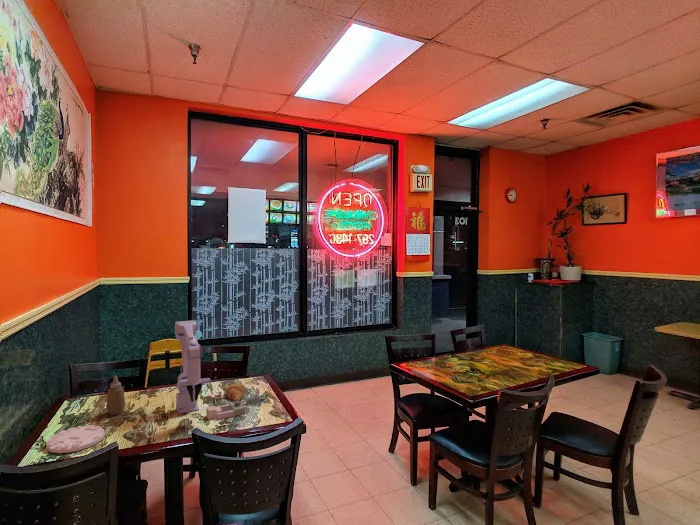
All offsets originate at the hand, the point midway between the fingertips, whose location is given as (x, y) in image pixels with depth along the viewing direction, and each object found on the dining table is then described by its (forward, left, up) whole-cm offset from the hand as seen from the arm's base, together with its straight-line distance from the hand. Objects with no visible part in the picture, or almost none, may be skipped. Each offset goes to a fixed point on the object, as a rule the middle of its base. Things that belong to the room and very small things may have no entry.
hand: (194, 400), depth 187 cm
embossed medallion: (-45, +4, -10) cm, 47 cm away
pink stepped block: (+9, 0, -10) cm, 13 cm away
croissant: (+25, +21, -10) cm, 34 cm away
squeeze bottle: (-30, +28, -10) cm, 43 cm away
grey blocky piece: (+16, 0, -9) cm, 19 cm away
